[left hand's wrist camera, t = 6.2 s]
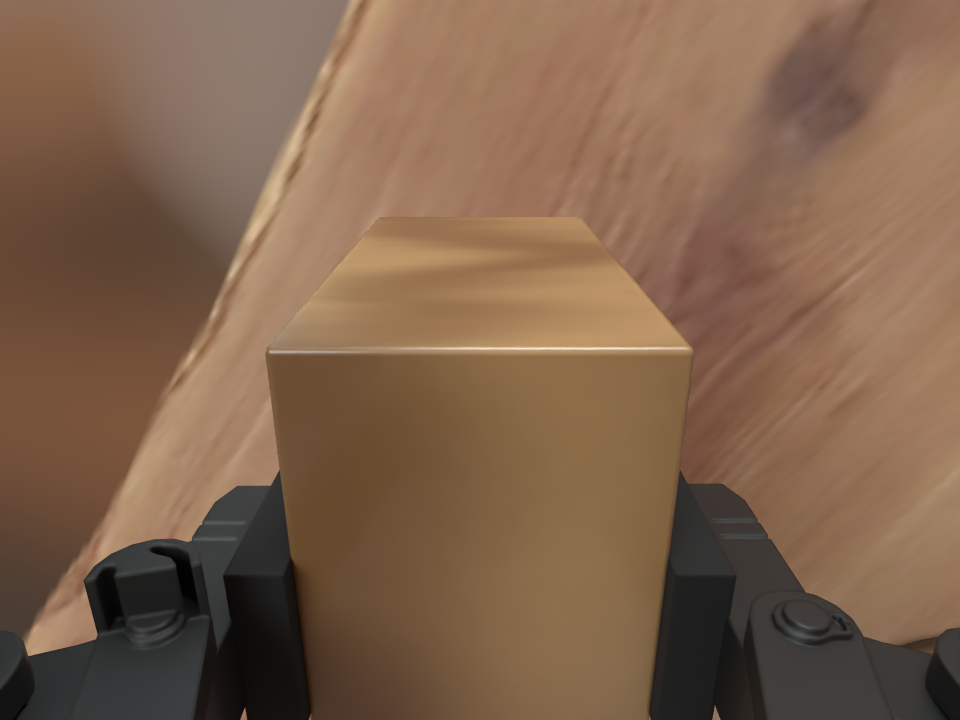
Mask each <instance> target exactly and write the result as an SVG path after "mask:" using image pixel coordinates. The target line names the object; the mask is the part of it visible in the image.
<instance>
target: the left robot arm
mask: <svg viewBox="0 0 960 720" xmlns="http://www.w3.org/2000/svg"><path fill="white" fill-rule="evenodd" d="M84 584H85V588H86V592H87V595H88V599H89V603H90V607H91V611H92V614H93V618H94V622H95V626H96V630H97V633H98V636H97V638H96V640H93V641H89V642H86V643H83V644H79V645H76V646H71V647H67V648H62V649H58V650H54V651H49V652H45V653H41V654H36V655H32V656H28V654H27V651H26V648H25V645H24V641H23V640H22V639H20V638H19V637H18V636H17V635H16V634H14V633H13V632H8V631H1V630H0V720H240V719H241V716H242V713H243V711H244V708H245V709H246V715H247V720H309V717H310V707H309V699H308V691H307V683H306V675H305V667H304V658H303V650H302V642H301V634H300V626H299V618H298V610H297V602H296V594H295V586H294V578H293V570H292V561H291V555H290V548H289V540H288V532H287V524H286V516H285V508H284V499H283V491H282V483H281V475H280V470H279V472H278V474H277V476H276V478H275V479H274V481H273V483H272V485H271V486H237V487H235V488H234V489H233V490H231V491H230V492H229V493H227V494H226V495H225V496H223V497H222V498H220V499H219V500H218V501H216V502H215V503H214V505H213V506H212V508H211V509H210V511H209V512H208V514H207V515H206V517H205V518H204V520H203V524H202V525H200V526H199V528H198V529H197V531H196V532H195V534H194V535H193V537H192V541H189V542H185V541H181V540H177V539H154V540H150V541H145V542H141V543H137V544H133V545H130V546H128V547H126V548H124V549H121V550H119V551H117V552H115V553H112V554H111V555H109V556H108V557H106V558H105V559H104V560H102V561H101V562H100V563H98V564H97V565H95V566H94V567H93V569H92V570H91V571H90V573H89V574H88V575H87V577H86V578H85V579H84ZM714 706H716V709H717V711H718V714H719V716H720V719H721V720H960V628H954V629H948V630H946V631H945V632H944V633H942V634H941V635H940V636H939V637H938V638H933V639H928V640H923V641H918V642H915V643H911V644H908V645H904V646H896V645H892V644H888V643H883V642H880V641H876V640H873V639H870V638H866V637H863V634H862V633H861V631H860V630H859V628H858V627H857V625H856V623H855V622H854V620H853V619H852V618H851V617H850V616H848V615H847V614H846V613H845V612H844V611H842V610H841V609H840V608H839V607H837V606H836V605H834V604H832V603H830V602H828V601H826V600H824V599H822V598H820V597H818V596H816V595H813V594H809V593H806V592H805V590H804V589H803V587H802V586H801V584H800V583H799V581H798V580H797V578H796V577H795V575H794V574H793V572H792V571H791V569H790V568H789V566H788V565H787V563H786V562H785V560H784V559H783V557H782V556H781V554H780V553H779V551H778V550H777V548H776V547H775V545H774V544H773V542H772V541H771V539H768V535H767V533H766V532H765V530H764V528H763V527H762V525H761V524H760V523H758V522H757V518H756V516H755V515H754V513H753V512H752V510H751V509H750V507H749V506H748V504H747V503H746V501H745V500H744V499H742V498H741V497H740V496H738V495H737V494H736V493H734V492H733V491H731V490H730V489H729V488H727V487H726V486H724V485H723V484H687V482H686V480H685V478H684V477H683V475H682V473H681V471H680V472H679V480H678V488H677V496H676V504H675V513H674V521H673V529H672V537H671V545H670V553H669V558H668V566H667V574H666V583H665V591H664V599H663V607H662V615H661V623H660V631H659V639H658V647H657V655H656V664H655V672H654V680H653V688H652V696H651V704H650V712H649V715H650V718H651V720H712V718H713V712H714Z"/></svg>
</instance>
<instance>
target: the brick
mask: <svg viewBox="0 0 960 720" xmlns="http://www.w3.org/2000/svg"><path fill="white" fill-rule="evenodd" d="M265 354H266V362H267V370H268V378H269V387H270V395H271V403H272V411H273V419H274V427H275V435H276V443H277V451H278V459H279V467H280V475H281V483H282V491H283V499H284V508H285V516H286V524H287V532H288V540H289V548H290V555H291V561H292V570H293V578H294V586H295V594H296V602H297V610H298V618H299V626H300V634H301V642H302V650H303V658H304V667H305V675H306V683H307V691H308V699H309V707H310V717H311V720H649V712H650V704H651V696H652V688H653V680H654V672H655V664H656V655H657V647H658V639H659V631H660V623H661V615H662V607H663V599H664V591H665V583H666V574H667V566H668V558H669V553H670V545H671V537H672V529H673V521H674V513H675V504H676V496H677V488H678V480H679V472H680V464H681V456H682V448H683V440H684V432H685V424H686V416H687V407H688V399H689V391H690V383H691V375H692V367H693V359H694V351H693V348H692V347H691V345H690V344H689V343H688V342H687V341H686V340H685V338H684V337H683V336H682V335H681V334H680V333H679V331H678V330H677V329H676V328H675V327H674V326H673V324H672V323H671V322H670V321H669V320H668V319H667V318H666V316H665V315H664V314H663V313H662V312H661V311H660V309H659V308H658V307H657V306H656V305H655V304H654V302H653V301H652V300H651V299H650V298H649V297H648V295H647V294H646V293H645V292H644V291H643V290H642V288H641V287H640V286H639V285H638V284H637V283H636V281H635V280H634V279H633V278H632V277H631V276H630V274H629V273H628V272H627V271H626V270H625V269H624V267H623V266H622V265H621V264H620V263H619V262H618V261H617V259H616V258H615V257H614V256H613V255H612V254H611V252H610V251H609V250H608V249H607V248H606V247H605V245H604V244H603V243H602V242H601V241H600V240H599V238H598V237H597V236H596V235H595V234H594V233H593V231H592V230H591V229H590V228H589V227H588V226H587V224H586V223H585V222H584V221H583V220H582V219H581V218H579V217H381V218H378V220H377V221H376V222H375V223H374V224H373V225H372V227H371V228H370V229H369V230H368V231H367V232H366V233H365V235H364V236H363V237H362V238H361V239H360V240H359V242H358V243H357V244H356V245H355V246H354V247H353V249H352V250H351V251H350V252H349V253H348V254H347V256H346V257H345V258H344V259H343V260H342V261H341V263H340V264H339V265H338V266H337V267H336V268H335V269H334V271H333V272H332V273H331V274H330V275H329V276H328V278H327V279H326V280H325V281H324V282H323V283H322V285H321V286H320V287H319V288H318V289H317V290H316V292H315V293H314V294H313V295H312V296H311V297H310V299H309V300H308V301H307V302H306V303H305V304H304V305H303V307H302V308H301V309H300V310H299V311H298V312H297V314H296V315H295V316H294V317H293V318H292V319H291V321H290V322H289V323H288V324H287V325H286V326H285V328H284V329H283V330H282V331H281V332H280V333H279V334H278V336H277V337H276V338H275V339H274V340H273V341H272V343H271V344H270V345H269V346H268V347H267V350H266V353H265Z"/></svg>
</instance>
